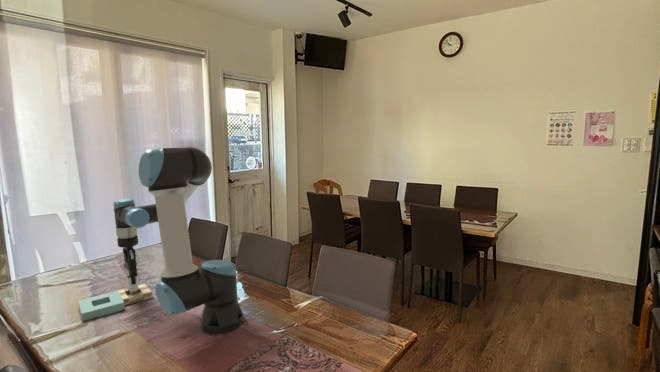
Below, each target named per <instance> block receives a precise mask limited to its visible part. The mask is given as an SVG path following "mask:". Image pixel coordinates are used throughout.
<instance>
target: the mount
mask: <svg viewBox="0 0 660 372" xmlns="http://www.w3.org/2000/svg"><path fill="white" fill-rule="evenodd" d="M138 290H139V293H135V294H131V295H128V288H127V287H125V288H120V289H117V290H116V291H118V292H119V293H120V295H121V297H122V299H123V301H124V306H127V305H131V304H134V303H138V302H141V301H145V300H149V299H152V298H153V292H152V291H151V289H150V288H149V286H148V285H147V283H141V284H138Z"/></svg>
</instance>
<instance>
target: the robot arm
mask: <svg viewBox="0 0 660 372" xmlns="http://www.w3.org/2000/svg"><path fill="white" fill-rule="evenodd" d="M212 166H213V165H212V162H211V159H210V157H209V156H208V155H207V154H206V153H205V152H204V151H203V150H201V149H199V148H196V147H191V146H187V147H158V148H151V149H147V150H145V151H144V152H143V153H142V155H141V157H140V159H139V163H138V178H139V180H140V184H141V185H142V186H144V187H145V188H148V192H149V193H150V194H151V195H152V196H154V200H155V203H153V204H146V205H141V206H136V203H135V200H134V199H133V198H122V199H116V200H114V201H113V212H114V221H115V232H116V237H117V239H116V241H117V247H119V248H122V253H123V259H124V263H127V262H128V270H129V276H127V277H128V278H129V284H130V292H133V291H137V290H138V287H137V280H138V271H137V270H138V269H137V266H136V261H137V258H136V257H137V254H136V250H135V249H134V246H137V245H139V236H138V235H137V234H138V229H139V228H144V227H145V226H146V225H150V224H154V223H158V227H159V228H158V229H159V235H160V236H159V237H160V242H161V243H160V244H161V251H162V258H163V264H164V270H163V271H162V272H161V273H160V279H161V280H160V281H158V282H157V283H156V284H155V288H154V289H155V291H154V292H155V296H156V298H157V301H158V303H159V305H160V307H161V308H162V310H163V311H164V312H165V314H167V315H169V316H176V315H180V314H182V313H183V314H184V313H186V312H187V311H190V310H193V309H195V308H198V307H200V306H202V305H203V310H202V313H201V317H200V329H201V330H202V331H203V332H205V333H208V334H224V333H228V332H230V331H231V332H232V331H234V330H236V329H237V328H238V327H240V326H241V325H242V324H243V323H244V311H243V310H242V307H241V305H240V302H239V300H238V287H237V285H238V284H237V275H238V274H237V268H236V265H235V264H234V263H233V262H232V261H230V260H226V259H211V260H206V261H204V262H202V263H201V266H200V268H201V269H199V266H198V265H196V264H195V263H194V262H193V256H192V249H191V248H192V246H191V240H190V234H189V228H188V226H189V225H188V218H187V211H186V205H185V203H186V202H187V201H188V200H189V199H190V197H191V196H192V195H193V194H194V193H195V192H196V190H197V189H198V187H199V186H202V185H203V186H204V184H205V183H206V182H207V181H208V179H209V178H210V176H211V174H212V168H213V167H212ZM124 270H125V271H126V269H125V268H124ZM136 276H137V277H136Z"/></svg>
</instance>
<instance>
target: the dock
mask: <svg viewBox="0 0 660 372" xmlns="http://www.w3.org/2000/svg"><path fill="white" fill-rule="evenodd" d="M125 306H126V305H124V301H123V299H122V297H121V295H120V293H119V292H118V291H117V290H114V291H111V292H108V293H104V294H99V295H96V296H92V297H91V296H90V297H87V298H83V299H79V300H78V307H79V312H80V317H81V320H82V322H85V321H88V320H92V319H96V318H100V317H103V316H106V315H110V314H113V313H118V312H120V311H124V310H125Z"/></svg>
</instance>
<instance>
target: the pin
mask: <svg viewBox="0 0 660 372" xmlns="http://www.w3.org/2000/svg"><path fill="white" fill-rule="evenodd" d="M137 266H138V261H137V260H136V267H137ZM123 268H124V270H125V269H126V270H125V277H126V279H125V280H126V288H128V295H131V294H135V293H139V290H137V291H133V292H130V284H129V278H128V277H127V276H129V270H128V262H127V263H125V262H124V263H123ZM136 277H137V278H138V275H137V276H136ZM138 283H139V281H138V279H137V287H138V285H139V284H138Z"/></svg>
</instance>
